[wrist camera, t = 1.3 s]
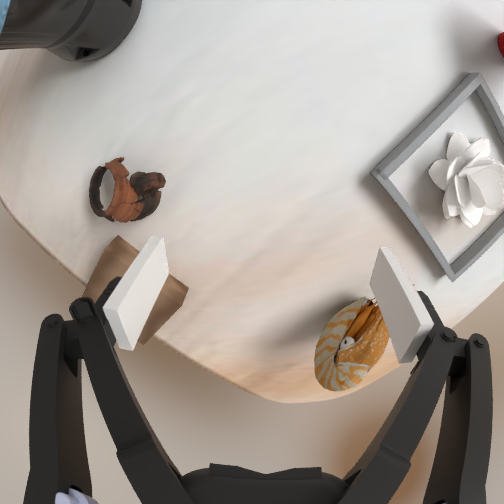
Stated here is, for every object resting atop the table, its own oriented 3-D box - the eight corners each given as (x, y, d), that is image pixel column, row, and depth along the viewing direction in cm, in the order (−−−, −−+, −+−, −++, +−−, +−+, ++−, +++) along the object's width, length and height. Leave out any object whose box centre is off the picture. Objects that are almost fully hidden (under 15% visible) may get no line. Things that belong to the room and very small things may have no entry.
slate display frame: (370, 172, 35) (376, 177, 33) (470, 72, 25) (479, 73, 23) (446, 274, 43) (452, 282, 40) (525, 191, 32) (533, 196, 30)
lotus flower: (437, 116, 30) (473, 125, 22) (501, 147, 30) (535, 163, 22) (415, 206, 37) (442, 233, 30) (478, 224, 37) (506, 249, 30)
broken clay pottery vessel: (132, 227, 42) (90, 232, 35) (122, 172, 42) (82, 170, 35) (188, 205, 37) (144, 206, 30) (175, 142, 37) (132, 131, 29)
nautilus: (416, 280, 44) (450, 342, 31) (323, 343, 52) (331, 409, 40) (396, 252, 41) (434, 315, 28) (297, 323, 50) (301, 393, 37)
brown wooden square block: (92, 284, 50) (80, 300, 46) (119, 234, 44) (105, 249, 39) (151, 327, 54) (143, 344, 50) (189, 286, 48) (181, 305, 44)
